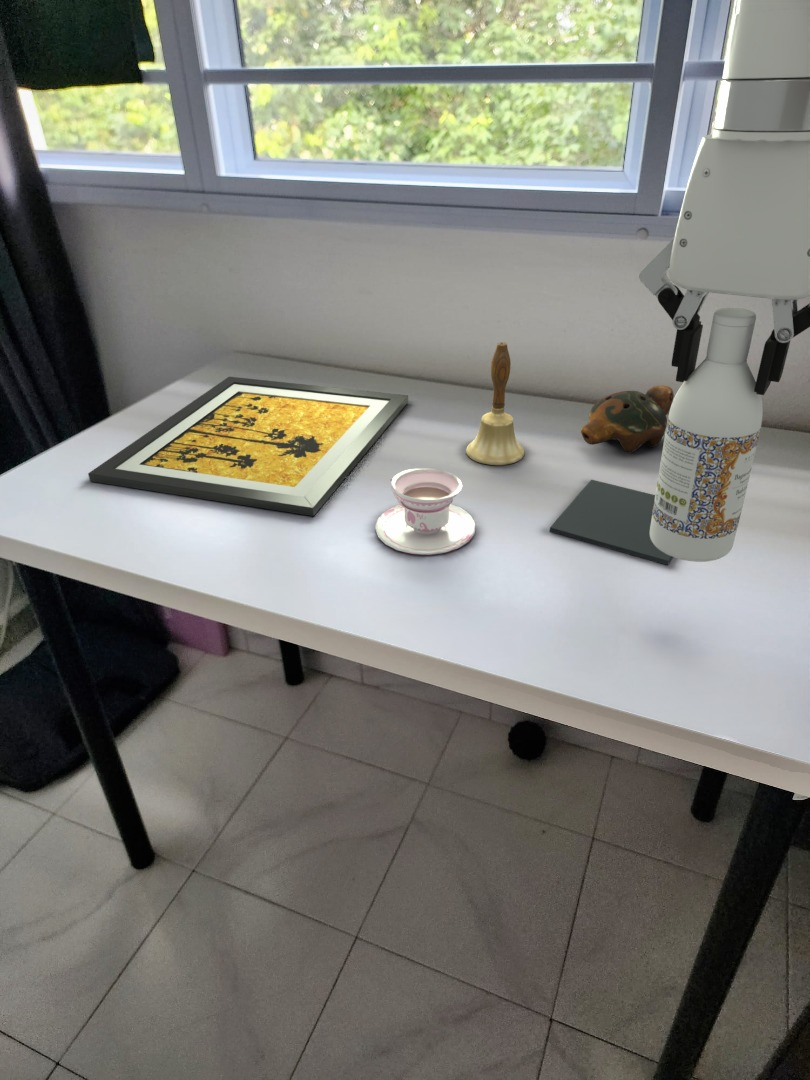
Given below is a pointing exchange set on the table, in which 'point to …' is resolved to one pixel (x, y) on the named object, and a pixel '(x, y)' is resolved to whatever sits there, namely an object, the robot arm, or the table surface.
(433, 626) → the table surface
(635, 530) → the mat
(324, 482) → the picture frame
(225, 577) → the table surface
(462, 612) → the table surface
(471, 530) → the teacup
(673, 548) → the bath foam
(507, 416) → the hand bell
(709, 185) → the robot arm
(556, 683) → the table surface
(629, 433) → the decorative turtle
